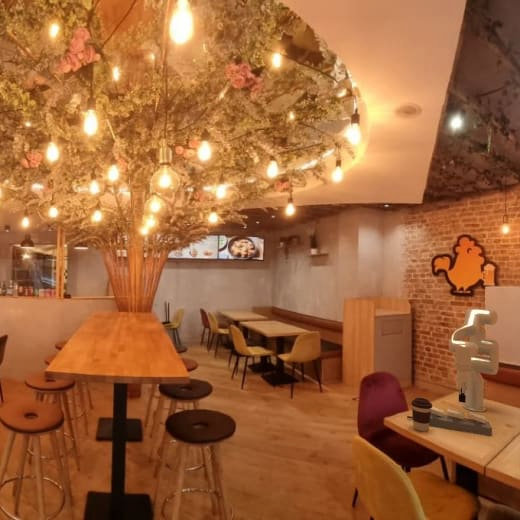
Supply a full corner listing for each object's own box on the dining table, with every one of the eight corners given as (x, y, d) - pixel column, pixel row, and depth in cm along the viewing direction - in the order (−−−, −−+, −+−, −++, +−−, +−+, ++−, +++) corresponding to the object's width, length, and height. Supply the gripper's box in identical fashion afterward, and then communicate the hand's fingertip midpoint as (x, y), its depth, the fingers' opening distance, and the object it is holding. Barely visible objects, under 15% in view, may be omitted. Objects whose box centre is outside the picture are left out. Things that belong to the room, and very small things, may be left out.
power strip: (407, 416, 229) (407, 407, 229) (488, 429, 215) (488, 420, 215) (406, 422, 220) (407, 413, 220) (491, 436, 205) (492, 426, 205)
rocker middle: (446, 412, 222) (447, 408, 222) (463, 416, 219) (463, 412, 219) (447, 415, 217) (448, 411, 217) (464, 419, 214) (464, 415, 214)
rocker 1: (426, 408, 225) (427, 404, 225) (442, 414, 222) (443, 410, 222) (426, 411, 221) (428, 407, 220) (442, 417, 218) (443, 413, 218)
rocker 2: (467, 414, 218) (468, 410, 218) (484, 420, 215) (485, 416, 215) (468, 417, 213) (469, 413, 213) (485, 423, 210) (486, 419, 210)
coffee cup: (427, 426, 215) (428, 397, 216) (433, 433, 205) (435, 403, 206) (408, 424, 216) (409, 395, 217) (413, 431, 206) (414, 401, 207)
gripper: (454, 363, 226) (453, 396, 226) (456, 369, 212) (455, 405, 212) (469, 364, 223) (468, 398, 223) (472, 371, 209) (471, 407, 209)
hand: (462, 401), depth 217 cm, fingers closed
